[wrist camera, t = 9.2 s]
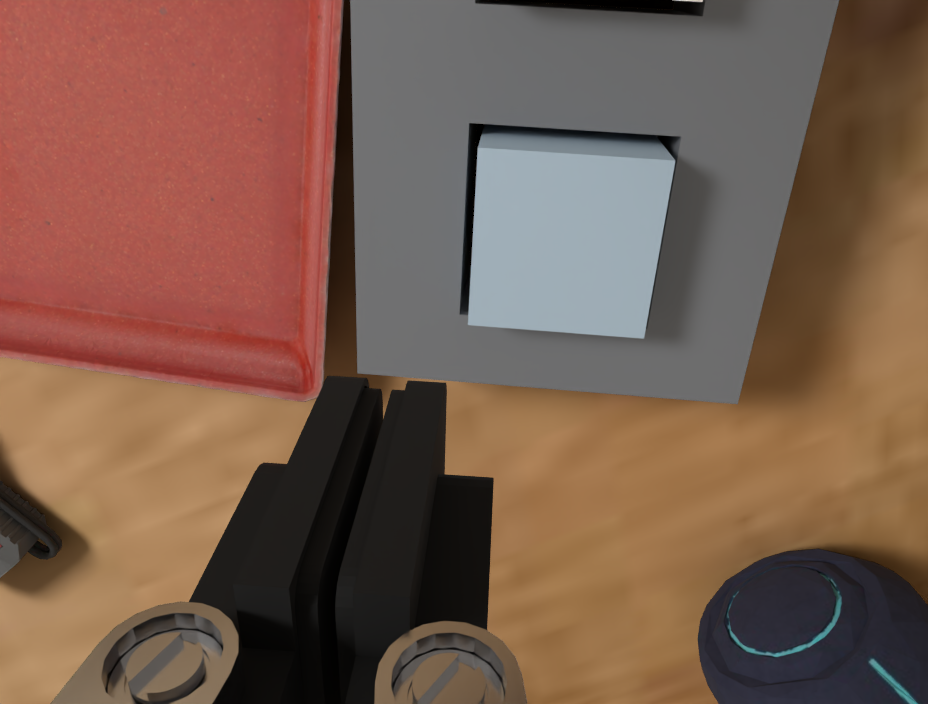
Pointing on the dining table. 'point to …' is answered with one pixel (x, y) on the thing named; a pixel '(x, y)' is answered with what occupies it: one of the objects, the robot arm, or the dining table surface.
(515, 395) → the dining table surface
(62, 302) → the plant saucer
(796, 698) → the portable speaker
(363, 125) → the console
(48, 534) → the walkie-talkie
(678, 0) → the white key
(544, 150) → the blue key
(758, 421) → the dining table surface
